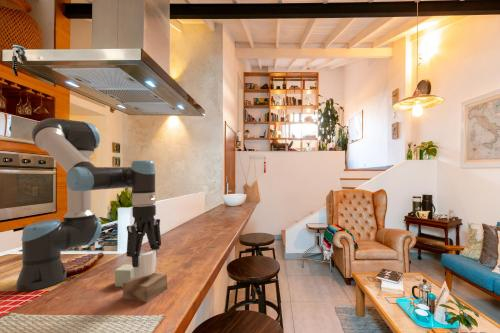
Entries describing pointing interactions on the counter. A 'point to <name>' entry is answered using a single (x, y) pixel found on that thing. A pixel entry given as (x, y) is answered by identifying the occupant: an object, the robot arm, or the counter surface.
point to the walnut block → (144, 287)
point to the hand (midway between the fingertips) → (145, 271)
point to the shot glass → (147, 261)
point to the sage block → (123, 274)
